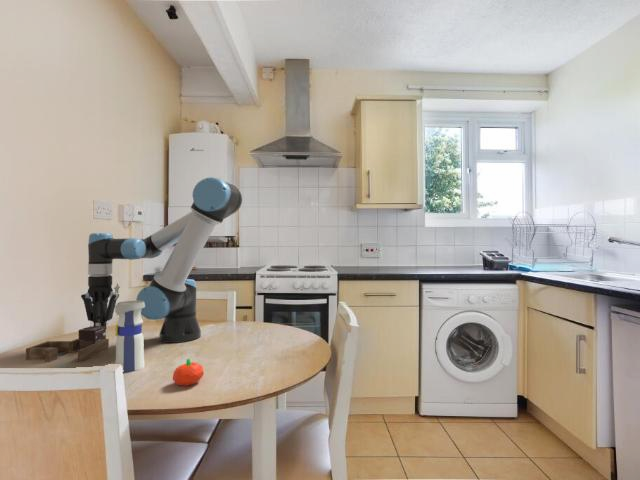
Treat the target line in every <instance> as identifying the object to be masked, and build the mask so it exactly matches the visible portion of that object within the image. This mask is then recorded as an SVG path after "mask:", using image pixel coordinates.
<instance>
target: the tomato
mask: <svg viewBox="0 0 640 480" xmlns="http://www.w3.org/2000/svg"><path fill="white" fill-rule="evenodd" d="M204 374H205V373H204V369H203V366H202V365H201V364H200V363H198V362H194V361H193V362H191V359H190V358H187V359H186V363H184V364H181V365H180V366H178V367H175V370H174V371H173V374H172V381H173V382H174V383H175V384H177V385H178V386H191V385H194V384H196V383H197V382H199V381H200V380H201V379H202V378H203V376H204Z"/></svg>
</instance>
